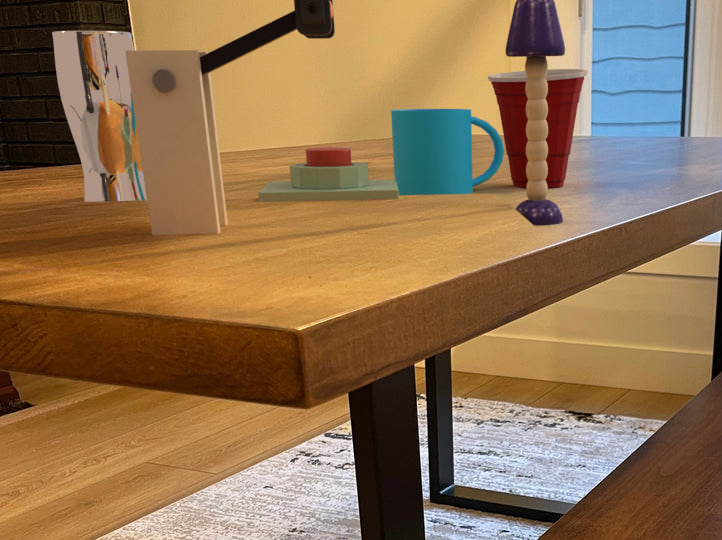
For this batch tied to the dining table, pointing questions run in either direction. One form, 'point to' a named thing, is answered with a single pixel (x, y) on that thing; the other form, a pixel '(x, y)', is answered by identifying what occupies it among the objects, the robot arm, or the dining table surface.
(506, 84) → the plastic cup
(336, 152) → the button
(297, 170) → the button box
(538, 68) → the toy lamp
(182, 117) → the bracket
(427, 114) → the mug
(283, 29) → the lever
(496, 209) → the dining table surface
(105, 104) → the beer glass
